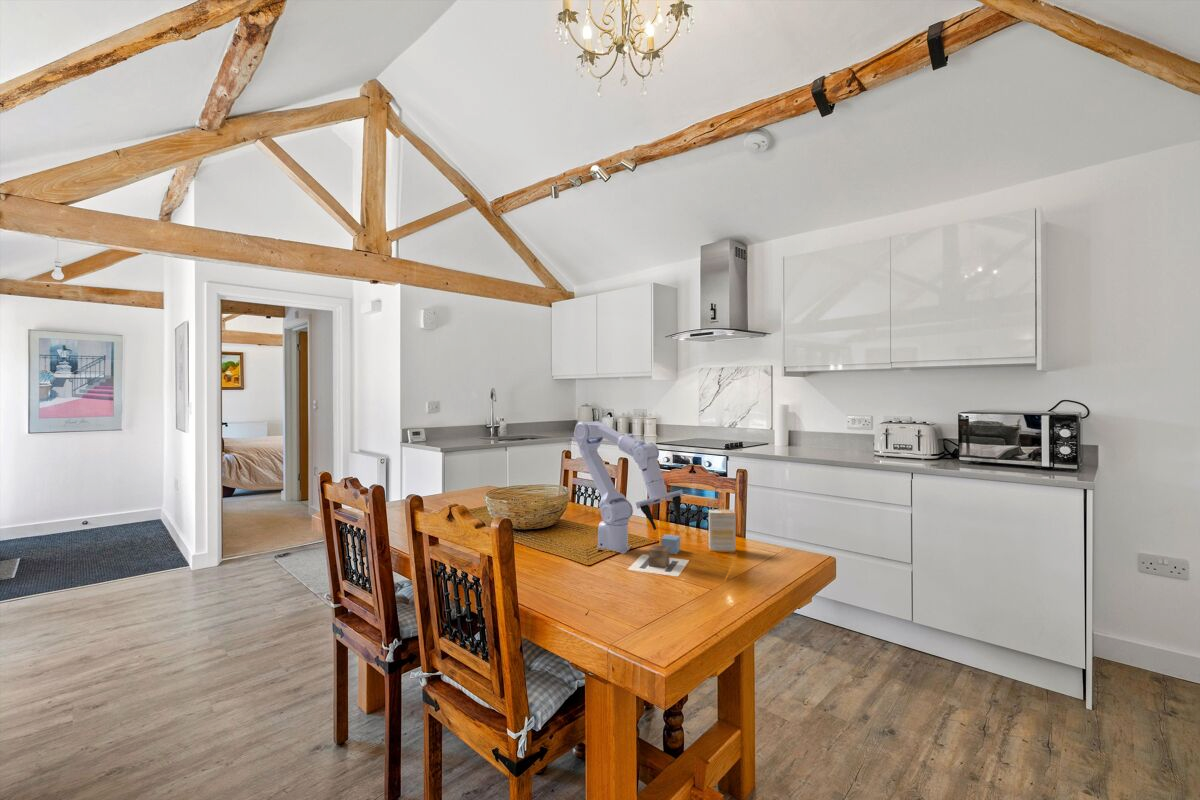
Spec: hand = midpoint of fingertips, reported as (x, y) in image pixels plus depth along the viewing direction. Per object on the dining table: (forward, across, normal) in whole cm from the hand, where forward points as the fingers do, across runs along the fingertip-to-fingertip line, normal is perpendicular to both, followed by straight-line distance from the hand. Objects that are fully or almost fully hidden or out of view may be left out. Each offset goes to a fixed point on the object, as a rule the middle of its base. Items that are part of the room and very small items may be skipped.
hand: (667, 526), depth 163 cm
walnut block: (+10, -6, +2) cm, 12 cm away
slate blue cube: (+8, 0, +15) cm, 17 cm away
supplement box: (+12, +16, +18) cm, 27 cm away
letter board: (+10, -6, +2) cm, 12 cm away
